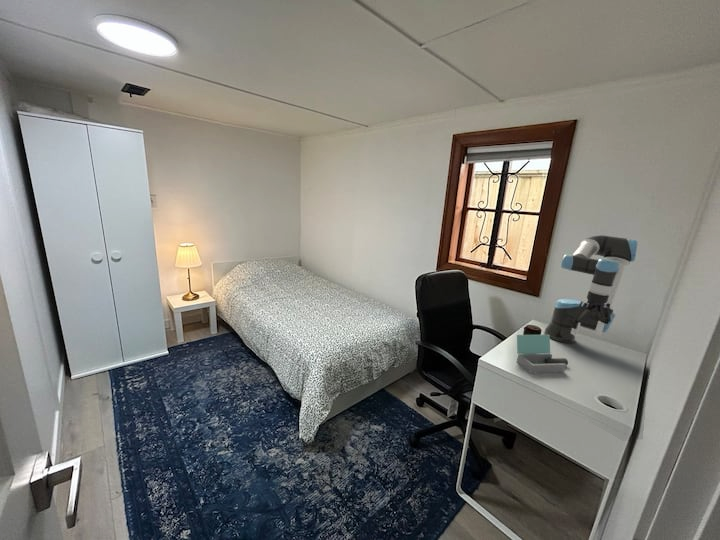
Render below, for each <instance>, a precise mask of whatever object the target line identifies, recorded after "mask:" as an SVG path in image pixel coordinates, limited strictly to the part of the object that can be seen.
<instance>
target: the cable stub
mask: <svg viewBox="0 0 720 540" xmlns="http://www.w3.org/2000/svg"><path fill="white" fill-rule="evenodd" d="M553 363H565V364H566V366H568V364H569V361H568V359H567V358H565V357H561V358H559V357H557V358H550V359H545V362H544V364H553Z"/></svg>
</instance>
